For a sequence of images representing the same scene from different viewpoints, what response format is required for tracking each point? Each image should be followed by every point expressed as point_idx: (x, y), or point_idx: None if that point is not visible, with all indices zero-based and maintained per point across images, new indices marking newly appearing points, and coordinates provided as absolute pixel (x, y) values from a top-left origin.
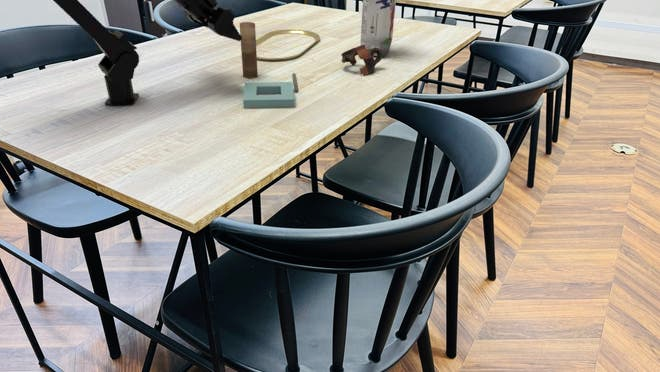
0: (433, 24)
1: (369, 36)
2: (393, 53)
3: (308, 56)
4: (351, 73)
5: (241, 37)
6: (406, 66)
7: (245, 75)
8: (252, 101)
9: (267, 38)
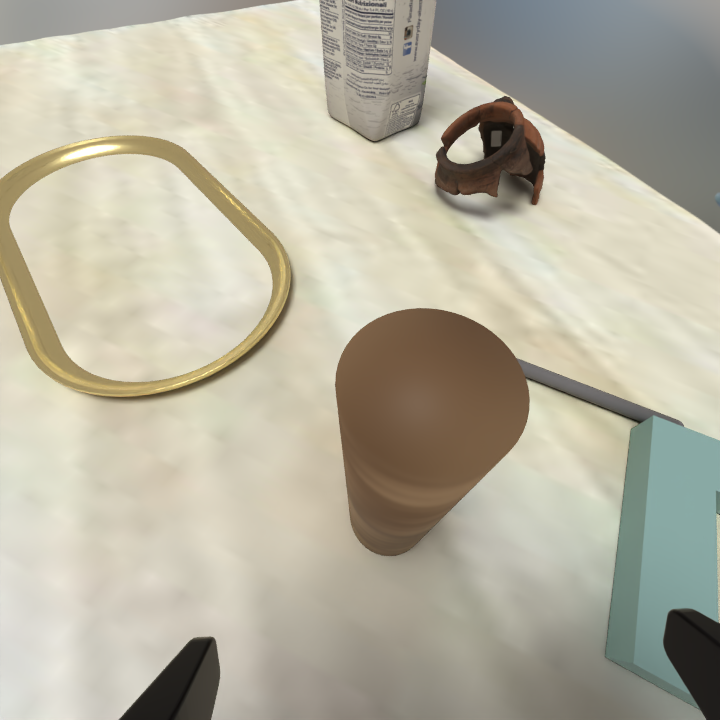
0: (263, 7)
1: (400, 70)
2: None
3: (292, 230)
4: (507, 214)
5: (703, 618)
6: None
7: (406, 550)
8: None
9: (11, 243)
